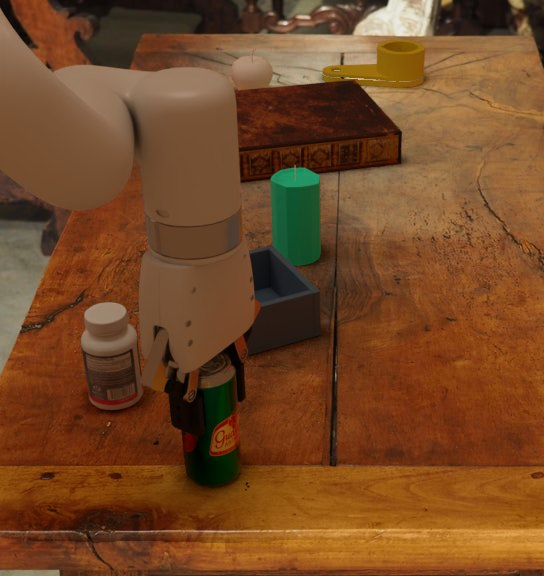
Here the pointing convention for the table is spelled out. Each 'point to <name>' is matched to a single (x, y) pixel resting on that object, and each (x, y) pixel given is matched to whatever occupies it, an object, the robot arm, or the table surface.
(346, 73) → the crank
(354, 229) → the table surface
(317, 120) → the book
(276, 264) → the bin
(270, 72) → the apple
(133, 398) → the pill bottle
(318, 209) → the candle
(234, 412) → the soda can
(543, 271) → the table surface
